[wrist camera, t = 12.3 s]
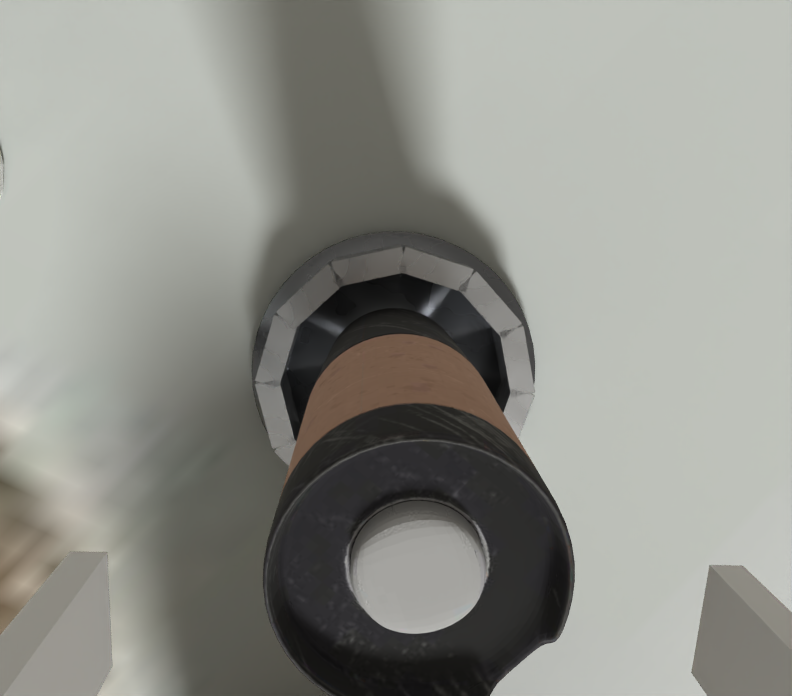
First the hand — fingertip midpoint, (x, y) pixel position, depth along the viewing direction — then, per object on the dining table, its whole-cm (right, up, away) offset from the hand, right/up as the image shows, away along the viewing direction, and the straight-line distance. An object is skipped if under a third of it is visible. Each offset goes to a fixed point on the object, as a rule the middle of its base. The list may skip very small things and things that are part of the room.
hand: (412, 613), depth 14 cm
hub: (-1, +4, +22) cm, 22 cm away
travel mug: (-1, +4, +21) cm, 21 cm away
